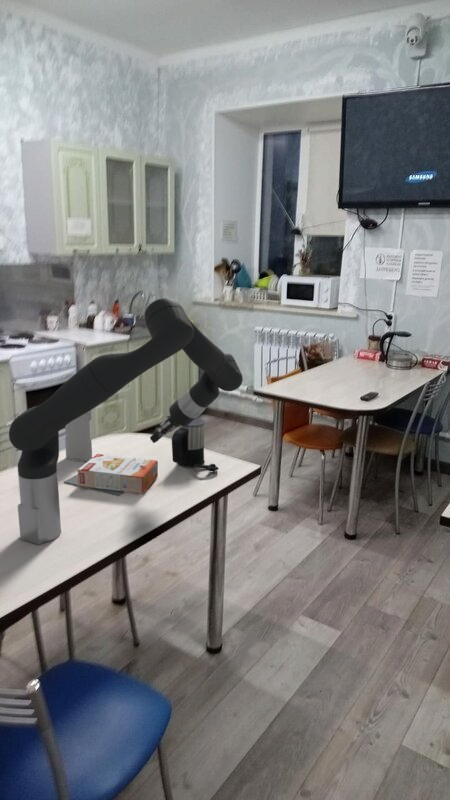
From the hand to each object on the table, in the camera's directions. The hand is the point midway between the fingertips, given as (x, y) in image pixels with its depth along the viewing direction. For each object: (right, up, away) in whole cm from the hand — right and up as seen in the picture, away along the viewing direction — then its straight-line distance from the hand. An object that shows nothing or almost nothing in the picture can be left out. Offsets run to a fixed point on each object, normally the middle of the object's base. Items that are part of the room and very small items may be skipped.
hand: (153, 439), depth 171 cm
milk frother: (+13, -11, +19) cm, 25 cm away
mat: (-14, -12, +10) cm, 21 cm away
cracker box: (-1, -11, +2) cm, 12 cm away
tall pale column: (-28, -8, +23) cm, 37 cm away
